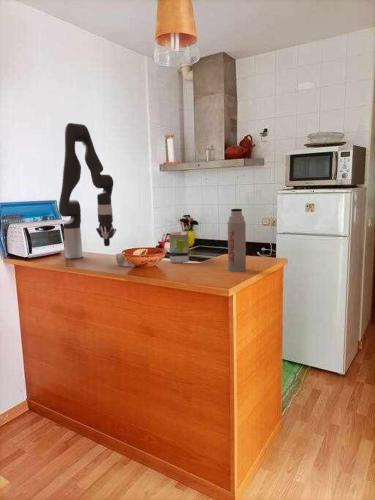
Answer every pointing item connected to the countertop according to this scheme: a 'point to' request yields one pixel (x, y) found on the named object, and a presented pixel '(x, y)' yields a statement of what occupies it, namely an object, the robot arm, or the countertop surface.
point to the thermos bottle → (236, 241)
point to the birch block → (122, 260)
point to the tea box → (179, 247)
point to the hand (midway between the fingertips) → (107, 245)
